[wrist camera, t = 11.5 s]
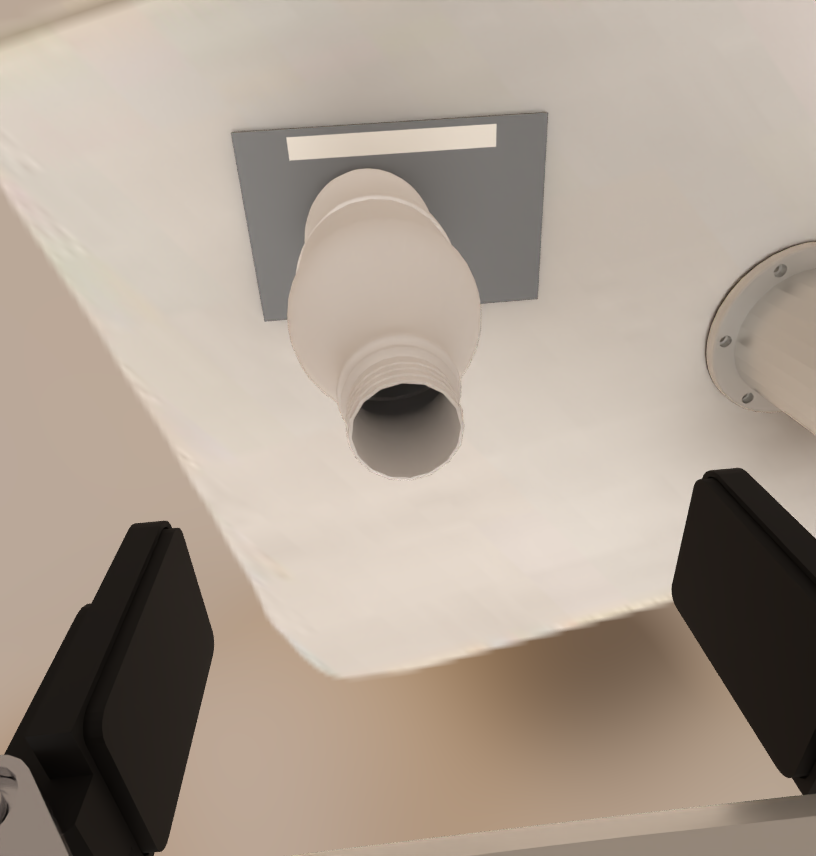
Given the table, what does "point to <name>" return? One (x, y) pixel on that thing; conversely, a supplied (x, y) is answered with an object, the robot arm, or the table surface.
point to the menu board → (421, 168)
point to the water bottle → (385, 321)
